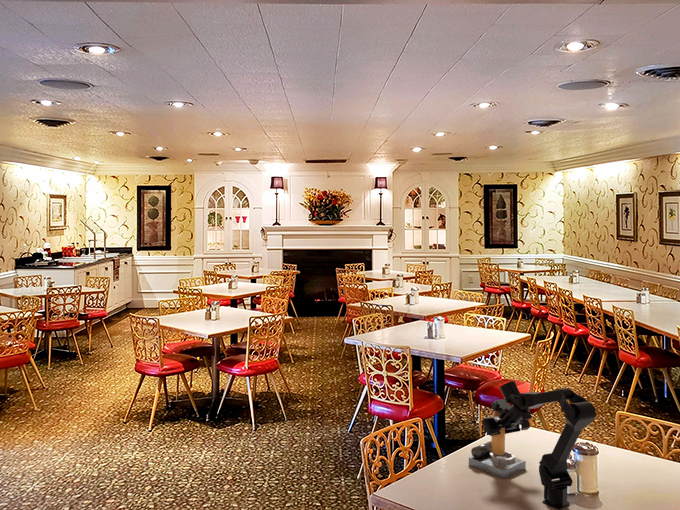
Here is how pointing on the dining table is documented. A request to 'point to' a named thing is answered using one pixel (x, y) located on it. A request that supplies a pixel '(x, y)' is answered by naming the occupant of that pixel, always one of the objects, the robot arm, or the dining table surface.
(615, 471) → the dining table surface
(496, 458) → the octagonal ring base plate
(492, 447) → the lidded container
